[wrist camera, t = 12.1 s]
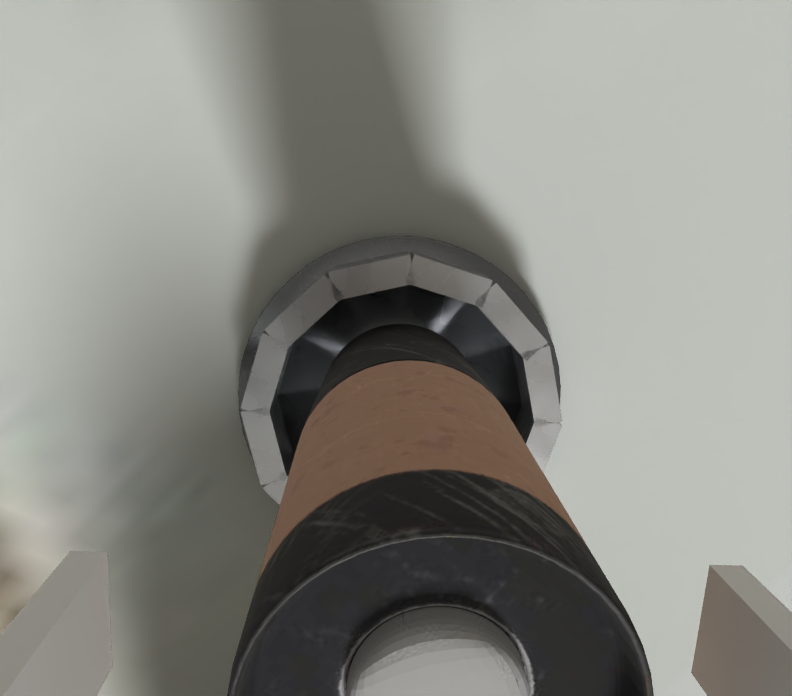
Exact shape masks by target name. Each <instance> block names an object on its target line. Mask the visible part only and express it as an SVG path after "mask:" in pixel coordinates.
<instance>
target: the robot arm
mask: <svg viewBox="0 0 792 696" xmlns="http://www.w3.org/2000/svg"><path fill="white" fill-rule="evenodd" d="M111 668H112V645H111V622H110V600H109V578H108V555H107V552H73V551H70V552H69V553H68V555H67V556H66V557H65V558H64V559H63V561H62V562H61V563H60V564H59V565H58V567H57V568H56V569H55V570H54V571H53V573H52V574H51V575H50V576H49V577H48V579H47V580H46V581H45V582H44V583H43V585H42V586H41V587H40V588H39V589H38V591H37V592H36V593H35V594H34V595H33V597H32V598H31V599H30V600H29V601H28V603H27V604H26V605H25V606H24V607H23V609H22V610H21V611H20V612H19V613H18V615H17V616H16V617H15V618H14V619H13V621H12V622H11V623H10V624H9V625H8V627H7V628H6V629H5V630H4V631H3V633H2V634H1V635H0V696H97V694H98V692H99V690H100V689H101V687H102V685H103V683H104V681H105V679H106V677H107V675H108V674H109V672H110V670H111ZM691 673H692V674H693V676H694V677H695V679H696V680H697V681H698V683H699V684H700V686H701V687H702V689H703V690H704V691H705V693H706V694H707V696H792V612H791V611H790V610H789V609H788V608H786V607H785V606H784V605H783V604H782V603H781V602H780V601H779V600H778V599H777V598H776V597H775V596H774V595H773V594H772V593H771V592H770V591H769V590H768V589H767V588H766V587H765V586H763V585H762V584H761V583H760V582H759V581H758V580H757V579H756V578H755V577H754V576H753V575H752V574H751V573H750V572H749V571H748V570H747V569H746V568H745V567H744V566H731V565H710V566H709V572H708V578H707V584H706V590H705V596H704V601H703V607H702V613H701V619H700V625H699V631H698V637H697V643H696V649H695V655H694V661H693V666H692V672H691Z"/></svg>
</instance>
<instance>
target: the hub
mask: <svg viewBox="0 0 792 696" xmlns="http://www.w3.org/2000/svg"><path fill="white" fill-rule="evenodd" d="M389 324H411V325H416V326H421V327H424V328H427V329H430V330H432V331H434V332H436V333H438V334H440V335H441V336H443V337H444V338H446V339H447V340H448V341H450V342H451V343H452V344H453V345H454V346H455V347H456V348H457V349H458V350H459V351H460V352H461V353H462V355H463V356H464V357H465V358H466V359H467V360H468V362H469V363H470V364H471V366H472V367H473V368H474V369H475V371H476V372H477V373H478V375H479V376H480V377H481V379H482V380H483V381H484V382H485V384H486V385H487V386H488V388H489V389H490V390H491V391H492V393H493V394H494V395H495V397H496V398H497V399H498V401H499V402H500V404H501V405H502V406H503V408H504V409H505V411H506V412H507V414H508V415H509V417H510V419H511V420H512V422H513V424H514V425H515V427H516V429H517V430H518V432H519V434H520V435H521V437H522V439H523V440H524V442H525V444H526V445H527V447H528V449H529V450H530V452H531V453H532V455H533V457H534V458H535V460H536V462H537V463H538V465H539V467H540V468H541V470H542V472H544V470H545V467H546V465H547V462H548V460H549V457H550V454H551V452H552V449H553V447H554V444H555V442H556V439H557V437H558V434H559V431H560V429H561V426H562V425H561V424H560V423H559V422H561V421H562V416H561V410H560V388H561V386H560V375H559V366H558V362H557V357H556V353H555V349H554V345H553V343H552V340H551V338H550V335H549V332H548V330H547V327H546V326H545V324H544V322H543V320H542V318H541V317H540V315H539V313H538V311H537V309H536V308H535V307H534V305H533V304H532V303H531V301H530V300H529V299H528V297H527V296H526V295H525V293H524V292H523V291H522V290H521V289H520V288H519V287H518V286H517V285H516V284H515V283H514V282H513V281H512V280H511V279H510V278H509V277H508V276H507V275H505V274H504V273H503V272H501V271H500V270H499V269H497V268H496V267H495V266H494V265H492V264H491V263H489V262H487V261H485V260H484V259H482V258H480V257H478V256H477V255H475V254H473V253H471V252H469V251H466V250H464V249H461V248H459V247H456V246H454V245H451V244H448V243H444V242H440V241H436V240H432V239H427V238H418V237H410V236H398V237H382V238H375V239H368V240H364V241H360V242H357V243H353V244H350V245H346V246H344V247H341V248H339V249H337V250H334V251H332V252H330V253H328V254H325V255H324V256H322V257H320V258H319V259H317V260H316V261H314V262H312V263H311V264H309V265H307V266H306V267H305V268H304V269H302V270H301V271H300V272H299V273H298V274H296V275H295V276H294V277H293V278H291V279H290V280H289V281H288V282H287V283H286V284H285V285H284V286H283V287H282V288H281V289H280V290H279V292H278V293H277V294H276V295H275V296H274V297H273V298H272V300H271V301H270V302H269V304H268V305H267V307H266V308H265V309H264V311H263V312H262V314H261V315H260V317H259V319H258V321H257V323H256V325H255V327H254V329H253V331H252V332H251V335H250V338H249V341H248V343H247V346H246V349H245V352H244V356H243V360H242V365H241V370H240V377H239V391H238V396H239V411H240V418H241V423H242V428H243V433H244V436H245V439H246V442H247V445H248V447H249V450H250V453H251V455H252V457H253V460H254V464H255V467H256V471H257V474H258V478H259V482H260V485H264V487H263V490H264V491H265V492H266V493H267V494H268V495H269V496H270V497H271V498H273V499H274V500H275V501H276V502H277V503H278V504H279V505H280V503H281V500H282V496H283V493H284V490H285V486H286V483H287V479H288V476H289V473H290V469H291V466H292V462H293V459H294V456H295V452H296V449H297V445H298V442H299V439H300V436H301V433H302V430H303V428H304V425H305V423H306V420H307V418H308V416H309V413H310V411H311V409H312V406H313V404H314V402H315V399H316V397H317V394H318V392H319V390H320V387H321V385H322V383H323V380H324V378H325V376H326V374H327V372H328V370H329V368H330V366H331V364H332V362H333V361H334V359H335V358H336V356H337V355H338V353H339V352H340V351H341V350H342V349H343V348H344V347H345V346H346V345H347V344H348V343H349V342H350V341H351V340H353V339H354V338H356V337H357V336H359V335H360V334H362V333H364V332H366V331H368V330H370V329H373V328H376V327H379V326H384V325H389Z"/></svg>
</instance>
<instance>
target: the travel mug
mask: <svg viewBox="0 0 792 696" xmlns="http://www.w3.org/2000/svg"><path fill="white" fill-rule="evenodd" d="M227 696H654V694H653V687H652V679H651V672H650V669H649V665H648V662H647V658H646V655H645V651H644V648H643V645H642V643H641V641H640V638H639V636H638V634H637V632H636V630H635V628H634V625H633V623H632V621H631V619H630V617H629V615H628V613H627V611H626V610H625V608H624V606H623V605H622V603H621V601H620V600H619V598H618V596H617V595H616V593H615V591H614V590H613V588H612V586H611V585H610V583H609V581H608V580H607V578H606V576H605V575H604V573H603V571H602V570H601V568H600V566H599V565H598V563H597V561H596V560H595V558H594V557H593V555H592V554H591V552H590V550H589V548H588V547H587V545H586V543H585V542H584V540H583V538H582V537H581V535H580V533H579V532H578V530H577V528H576V527H575V525H574V523H573V522H572V520H571V518H570V517H569V515H568V513H567V512H566V510H565V508H564V507H563V505H562V503H561V502H560V500H559V498H558V497H557V495H556V493H555V492H554V490H553V488H552V487H551V485H550V483H549V482H548V480H547V478H546V477H545V475H544V473H543V472H542V470H541V468H540V467H539V465H538V463H537V462H536V460H535V458H534V457H533V455H532V453H531V452H530V450H529V449H528V447H527V445H526V444H525V442H524V440H523V439H522V437H521V435H520V434H519V432H518V430H517V429H516V427H515V425H514V424H513V422H512V420H511V419H510V417H509V415H508V414H507V412H506V411H505V409H504V408H503V406H502V405H501V404H500V402H499V401H498V399H497V398H496V397H495V395H494V394H493V393H492V391H491V390H490V389H489V388H488V386H487V385H486V384H485V382H484V381H483V380H482V379H481V377H480V376H479V375H478V373H477V372H476V371H475V369H474V368H473V367H472V366H471V364H470V363H469V362H468V360H467V359H466V358H465V357H464V356H463V355H462V353H461V352H460V351H459V350H458V349H457V348H456V347H455V346H454V345H453V344H452V343H451V342H450V341H448V340H447V339H446V338H444V337H443V336H441V335H440V334H438V333H436V332H434V331H432V330H430V329H427V328H424V327H421V326H416V325H411V324H389V325H384V326H379V327H376V328H373V329H370V330H368V331H366V332H364V333H362V334H360V335H359V336H357V337H356V338H354V339H353V340H351V341H350V342H349V343H348V344H347V345H346V346H345V347H344V348H343V349H342V350H341V351H340V352H339V353H338V355H337V356H336V358H335V359H334V361H333V362H332V364H331V366H330V368H329V370H328V372H327V374H326V376H325V378H324V380H323V383H322V385H321V387H320V390H319V392H318V394H317V397H316V399H315V402H314V404H313V406H312V409H311V411H310V413H309V416H308V418H307V420H306V423H305V425H304V428H303V430H302V433H301V436H300V439H299V442H298V445H297V449H296V452H295V456H294V459H293V462H292V466H291V469H290V473H289V476H288V479H287V483H286V486H285V490H284V493H283V496H282V500H281V503H280V507H279V510H278V513H277V517H276V520H275V524H274V527H273V530H272V534H271V537H270V541H269V544H268V547H267V551H266V554H265V558H264V561H263V564H262V568H261V571H260V575H259V578H258V581H257V585H256V588H255V592H254V595H253V599H252V602H251V605H250V609H249V612H248V615H247V619H246V622H245V626H244V629H243V632H242V636H241V639H240V643H239V646H238V649H237V653H236V656H235V660H234V663H233V667H232V672H231V677H230V683H229V689H228V694H227Z"/></svg>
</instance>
